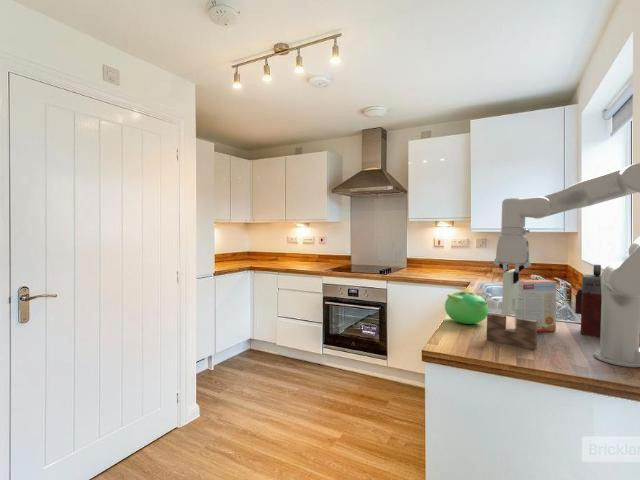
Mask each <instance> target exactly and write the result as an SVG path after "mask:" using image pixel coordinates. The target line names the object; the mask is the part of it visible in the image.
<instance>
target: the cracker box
mask: <svg viewBox="0 0 640 480" xmlns="http://www.w3.org/2000/svg"><path fill="white" fill-rule="evenodd" d="M517 318H524V319H531V320H537V333H540V332H556V331H557V329H556V328H557V325H556V323H557V281H556V280H555V281H554V280H552V279H551V280H550V279H519V297H518V309H517V310H515V329H516V320H517Z"/></svg>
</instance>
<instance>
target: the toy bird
mask: <svg viewBox="0 0 640 480" xmlns="http://www.w3.org/2000/svg"><path fill="white" fill-rule="evenodd" d="M446 297H447V298H446V300H445V303H444V310H445V313H446V314H447V316H448V317H449V318H450V319H451V320H453V321H455V322H457V323H461V324H464V325H465V324H466V325H472V324H479V323H481V322H483V321H484V320H485V319H487V314H488V313H489V306H488V305H489V304H488V301H486V300H485V298H484V297H483V296H481V295H480V294H477V293H474V292H471V290H470V289H465V290H463V291H459V292H455V293H452V294H447V295H446Z"/></svg>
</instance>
